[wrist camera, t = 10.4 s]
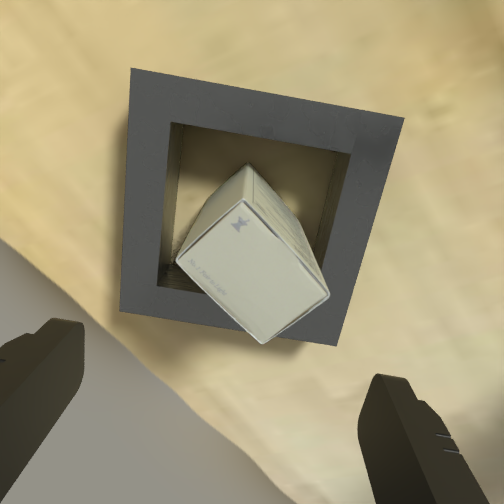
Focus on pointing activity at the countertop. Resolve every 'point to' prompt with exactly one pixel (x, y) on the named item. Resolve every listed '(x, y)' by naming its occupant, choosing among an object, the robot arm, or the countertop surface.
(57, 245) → the countertop surface
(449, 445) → the robot arm
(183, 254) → the skincare box
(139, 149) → the dark grey square frame
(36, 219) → the countertop surface
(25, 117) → the countertop surface
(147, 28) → the countertop surface
